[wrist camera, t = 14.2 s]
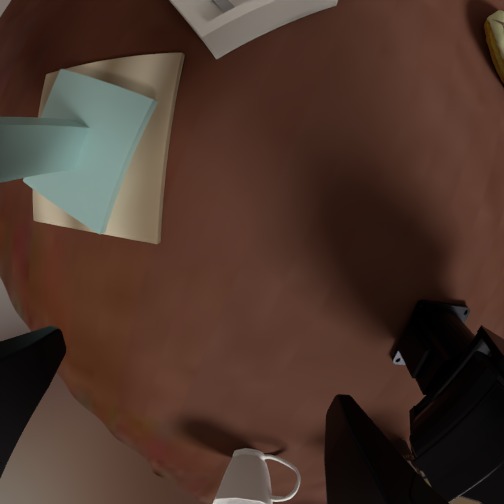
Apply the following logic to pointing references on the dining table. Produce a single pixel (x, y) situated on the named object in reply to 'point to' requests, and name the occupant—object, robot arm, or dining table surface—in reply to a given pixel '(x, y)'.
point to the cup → (250, 479)
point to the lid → (77, 145)
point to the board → (147, 151)
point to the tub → (242, 19)
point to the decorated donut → (496, 40)
